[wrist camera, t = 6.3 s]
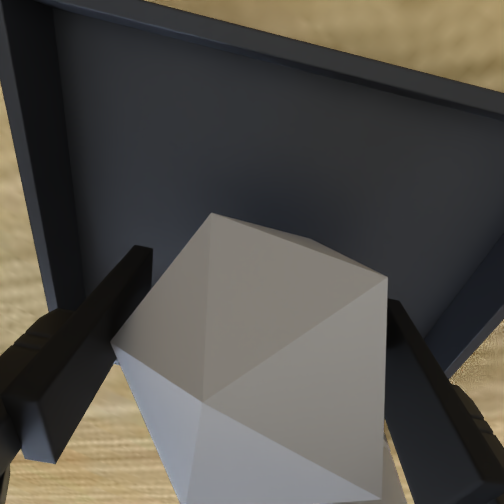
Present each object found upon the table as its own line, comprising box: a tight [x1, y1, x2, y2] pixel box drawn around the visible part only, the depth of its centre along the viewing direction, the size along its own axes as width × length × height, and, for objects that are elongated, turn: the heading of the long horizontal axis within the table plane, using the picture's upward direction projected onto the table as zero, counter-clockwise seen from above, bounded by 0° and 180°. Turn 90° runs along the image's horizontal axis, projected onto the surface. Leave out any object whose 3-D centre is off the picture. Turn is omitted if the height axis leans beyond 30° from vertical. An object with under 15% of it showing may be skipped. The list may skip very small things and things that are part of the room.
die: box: [110, 213, 388, 504], centre depth 10 cm, size 8×9×10 cm
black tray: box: [0, 0, 504, 419], centre depth 15 cm, size 23×18×3 cm
